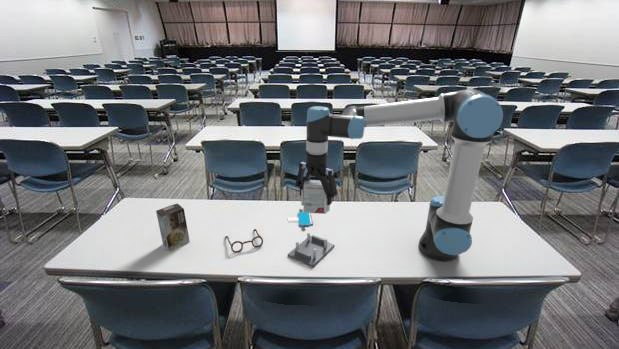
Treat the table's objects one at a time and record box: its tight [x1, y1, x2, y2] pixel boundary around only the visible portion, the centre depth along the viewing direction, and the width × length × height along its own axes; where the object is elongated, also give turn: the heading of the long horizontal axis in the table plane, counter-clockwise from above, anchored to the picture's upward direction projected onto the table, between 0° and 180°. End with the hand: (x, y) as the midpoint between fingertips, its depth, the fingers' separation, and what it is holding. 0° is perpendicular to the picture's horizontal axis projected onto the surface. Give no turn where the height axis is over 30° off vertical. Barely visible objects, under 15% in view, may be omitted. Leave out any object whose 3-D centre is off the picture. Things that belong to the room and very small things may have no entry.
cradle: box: [287, 232, 335, 268], centre depth 130 cm, size 12×16×5 cm
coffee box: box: [155, 203, 190, 251], centre depth 133 cm, size 9×6×16 cm
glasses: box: [224, 228, 264, 254], centre depth 137 cm, size 13×13×5 cm
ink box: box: [302, 179, 327, 215], centre depth 121 cm, size 9×5×12 cm, turn 85°
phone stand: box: [287, 208, 314, 232], centre depth 154 cm, size 20×12×2 cm, turn 5°
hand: (315, 207), depth 123 cm, fingers closed on ink box, 9 cm apart
